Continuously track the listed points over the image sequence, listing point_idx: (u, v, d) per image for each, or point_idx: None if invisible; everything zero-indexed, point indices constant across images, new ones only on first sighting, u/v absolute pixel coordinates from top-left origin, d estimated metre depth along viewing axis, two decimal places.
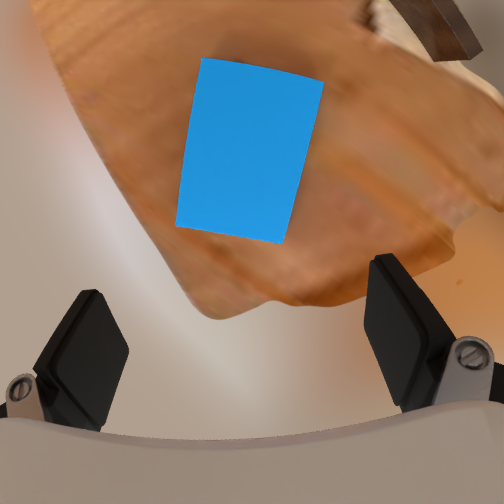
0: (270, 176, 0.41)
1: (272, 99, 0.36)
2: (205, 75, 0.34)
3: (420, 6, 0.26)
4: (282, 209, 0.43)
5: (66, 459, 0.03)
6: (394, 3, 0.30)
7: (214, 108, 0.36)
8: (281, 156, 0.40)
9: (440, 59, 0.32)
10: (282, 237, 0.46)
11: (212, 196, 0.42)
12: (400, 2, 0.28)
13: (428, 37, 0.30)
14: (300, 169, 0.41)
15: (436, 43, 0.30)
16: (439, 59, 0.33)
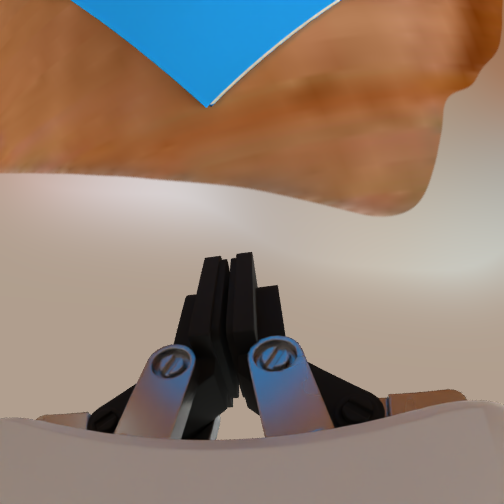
0: None
1: None
2: None
3: None
4: None
5: (66, 459, 0.03)
6: None
7: None
8: None
9: None
10: None
11: (200, 16, 0.16)
12: None
13: None
14: None
15: None
16: None
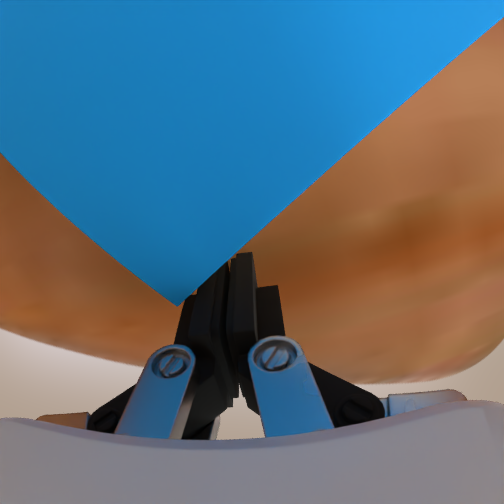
0: None
1: None
2: None
3: None
4: None
5: (66, 459, 0.03)
6: None
7: None
8: None
9: None
10: None
11: (133, 21, 0.05)
12: None
13: None
14: None
15: None
16: None
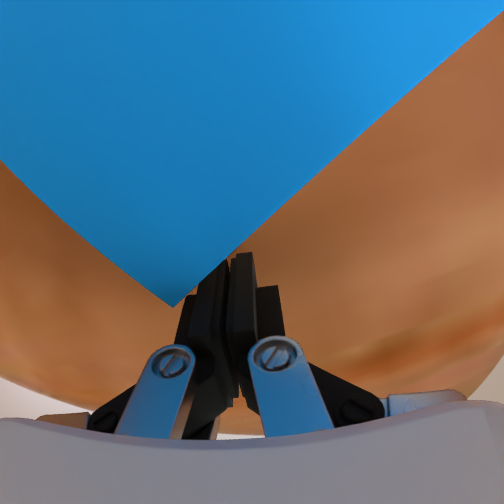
0: None
1: None
2: None
3: None
4: None
5: (66, 459, 0.03)
6: None
7: None
8: None
9: None
10: None
11: (126, 25, 0.05)
12: None
13: None
14: None
15: None
16: None
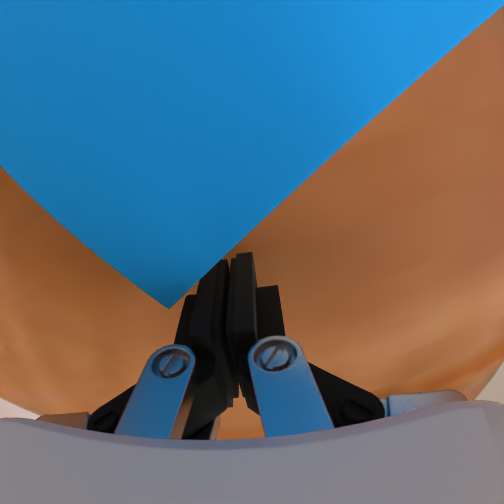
0: None
1: None
2: None
3: None
4: None
5: (66, 459, 0.03)
6: None
7: None
8: None
9: None
10: None
11: (119, 29, 0.05)
12: None
13: None
14: None
15: None
16: None
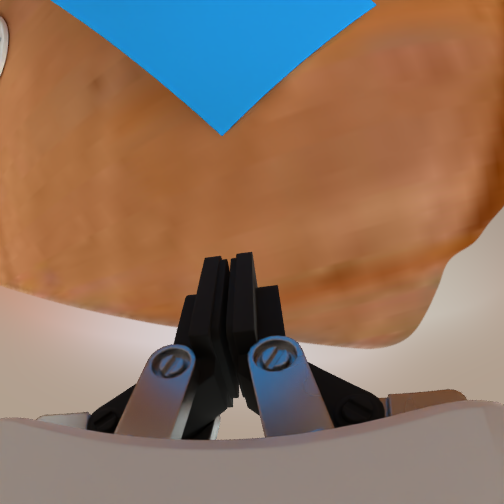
0: None
1: None
2: None
3: None
4: None
5: (66, 459, 0.03)
6: None
7: None
8: None
9: None
10: None
11: (214, 40, 0.17)
12: None
13: None
14: None
15: None
16: None
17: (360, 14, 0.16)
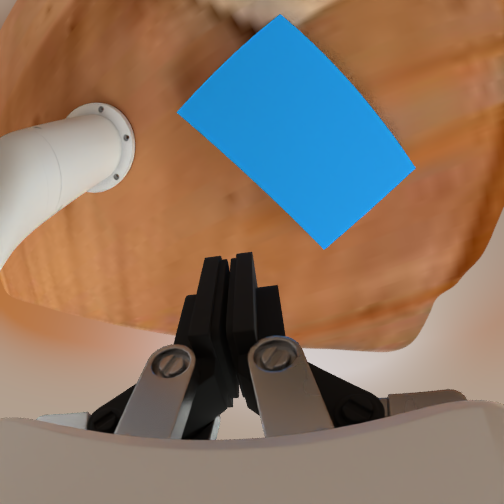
0: (346, 127, 0.31)
1: (268, 71, 0.28)
2: (198, 120, 0.31)
3: None
4: (385, 141, 0.32)
5: (66, 459, 0.03)
6: None
7: (239, 132, 0.31)
8: (334, 103, 0.30)
9: None
10: (410, 162, 0.33)
11: (325, 195, 0.35)
12: None
13: None
14: (359, 95, 0.29)
15: None
16: None
17: (405, 176, 0.34)
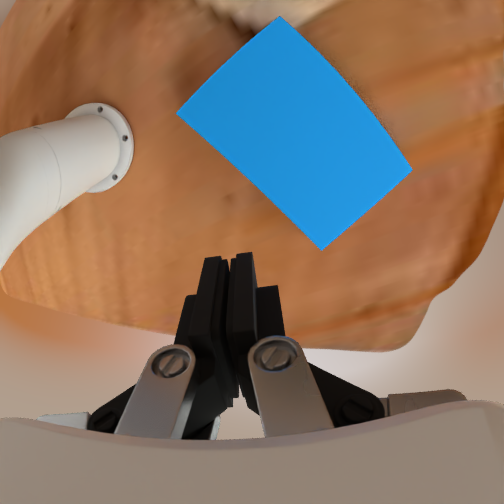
0: (344, 129, 0.31)
1: (267, 73, 0.28)
2: (196, 121, 0.31)
3: None
4: (383, 143, 0.32)
5: (66, 459, 0.03)
6: None
7: (238, 133, 0.32)
8: (332, 105, 0.30)
9: None
10: (407, 164, 0.33)
11: (323, 197, 0.35)
12: None
13: None
14: (357, 97, 0.30)
15: None
16: None
17: (402, 178, 0.34)
